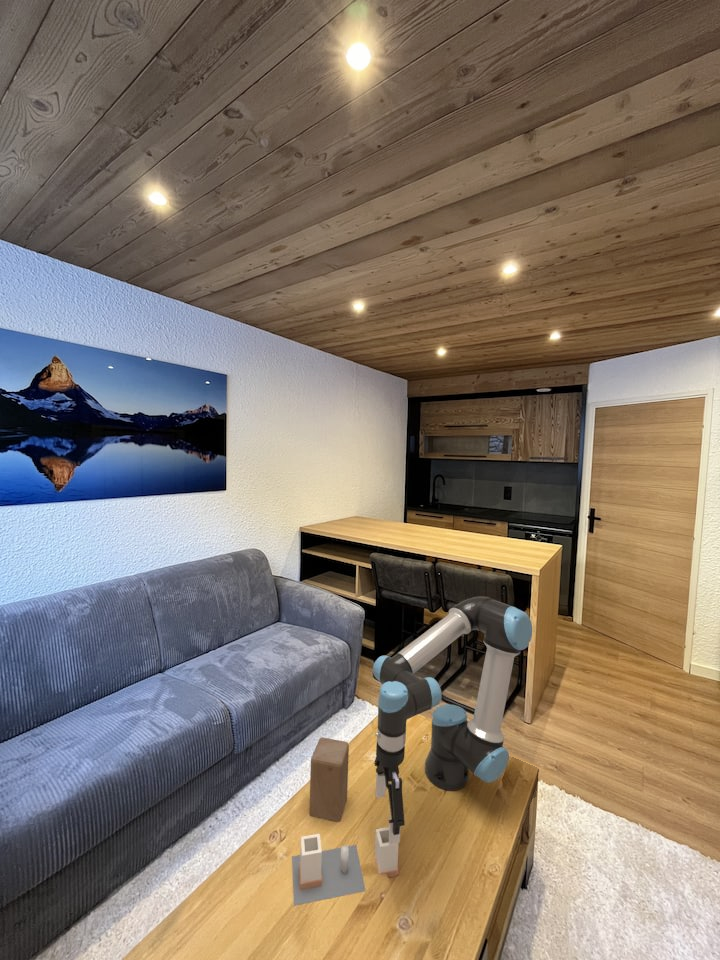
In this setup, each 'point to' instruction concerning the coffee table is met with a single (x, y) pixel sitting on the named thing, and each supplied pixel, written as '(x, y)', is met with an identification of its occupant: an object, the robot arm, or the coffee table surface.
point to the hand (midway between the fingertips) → (386, 818)
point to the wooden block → (329, 779)
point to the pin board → (331, 876)
